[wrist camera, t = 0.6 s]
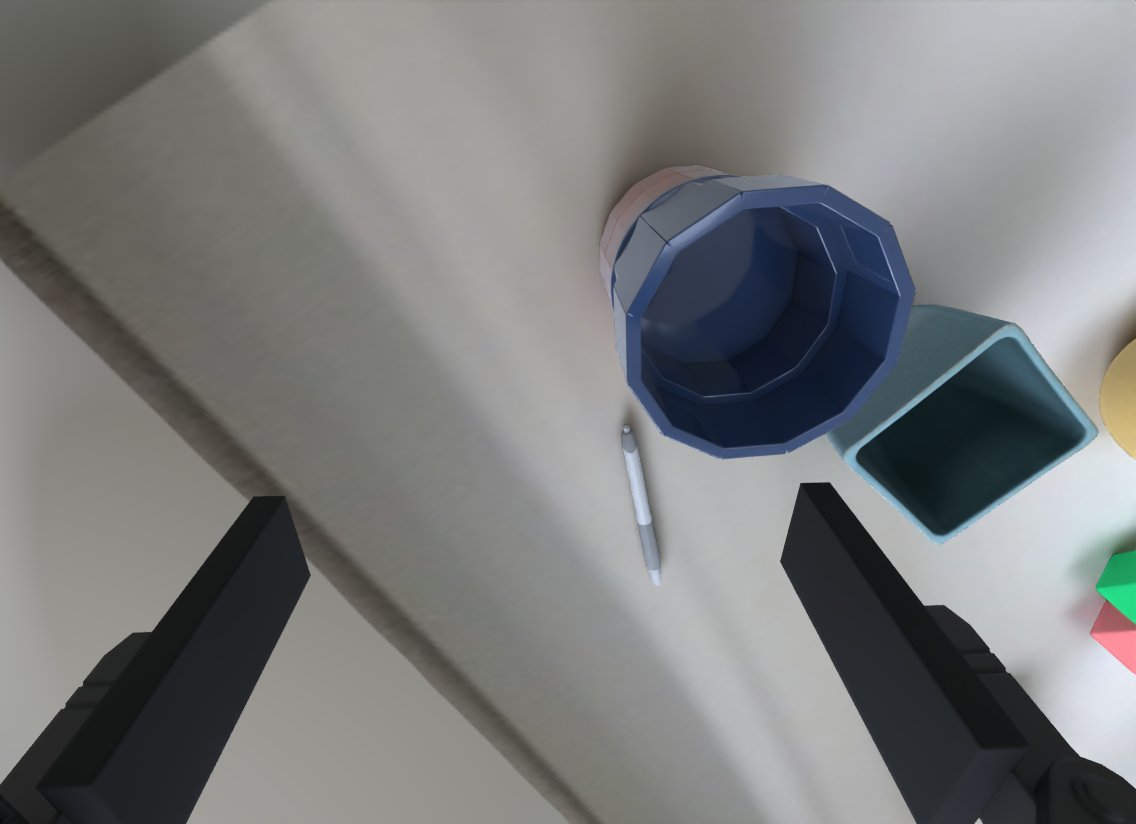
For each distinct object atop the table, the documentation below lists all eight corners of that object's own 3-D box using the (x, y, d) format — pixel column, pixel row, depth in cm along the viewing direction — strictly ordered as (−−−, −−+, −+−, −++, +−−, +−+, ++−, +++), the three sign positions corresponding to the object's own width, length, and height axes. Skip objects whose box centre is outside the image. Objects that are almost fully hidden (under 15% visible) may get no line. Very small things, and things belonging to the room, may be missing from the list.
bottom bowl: (595, 171, 27) (608, 184, 22) (762, 158, 27) (816, 168, 22) (601, 331, 31) (614, 374, 26) (747, 319, 31) (789, 360, 26)
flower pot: (891, 265, 30) (1017, 318, 22) (970, 360, 33) (1105, 436, 25) (767, 376, 33) (839, 458, 25) (850, 453, 36) (937, 548, 28)
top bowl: (599, 176, 21) (623, 200, 15) (826, 157, 21) (945, 174, 15) (607, 381, 26) (628, 467, 20) (796, 366, 26) (878, 446, 20)
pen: (631, 416, 34) (635, 428, 32) (661, 574, 40) (665, 589, 39) (615, 420, 34) (618, 431, 33) (648, 577, 40) (651, 592, 39)
